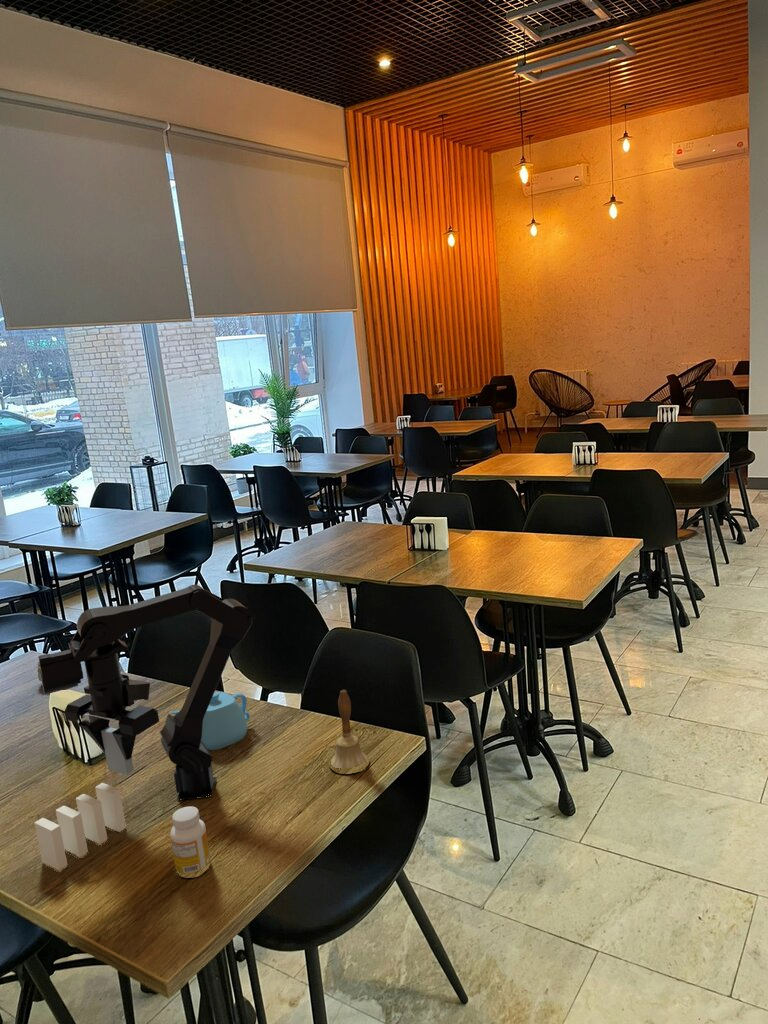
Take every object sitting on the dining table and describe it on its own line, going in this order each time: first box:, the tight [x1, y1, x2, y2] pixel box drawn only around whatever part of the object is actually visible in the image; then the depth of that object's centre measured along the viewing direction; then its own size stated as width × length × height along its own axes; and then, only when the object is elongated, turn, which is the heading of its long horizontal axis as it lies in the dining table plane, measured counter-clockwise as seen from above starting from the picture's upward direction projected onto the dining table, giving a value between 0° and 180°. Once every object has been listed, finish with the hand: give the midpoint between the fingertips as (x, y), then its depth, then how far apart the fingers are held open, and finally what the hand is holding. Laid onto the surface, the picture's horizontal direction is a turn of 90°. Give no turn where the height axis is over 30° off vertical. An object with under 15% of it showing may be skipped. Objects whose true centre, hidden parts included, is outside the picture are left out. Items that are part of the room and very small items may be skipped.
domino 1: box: [33, 817, 68, 870], centre depth 130 cm, size 2×5×8 cm, turn 56°
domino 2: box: [55, 805, 89, 857], centre depth 134 cm, size 2×5×8 cm, turn 56°
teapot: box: [169, 691, 250, 751], centre depth 169 cm, size 13×11×18 cm
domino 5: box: [94, 782, 127, 831], centre depth 140 cm, size 2×5×8 cm, turn 56°
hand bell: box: [330, 689, 368, 769], centre depth 154 cm, size 8×8×16 cm
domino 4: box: [101, 726, 134, 775], centre depth 142 cm, size 2×5×8 cm, turn 61°
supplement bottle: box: [169, 806, 211, 874], centre depth 126 cm, size 6×6×10 cm
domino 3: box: [75, 793, 108, 844], centre depth 137 cm, size 2×5×8 cm, turn 56°
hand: (118, 756), depth 142 cm, fingers closed on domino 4, 5 cm apart
